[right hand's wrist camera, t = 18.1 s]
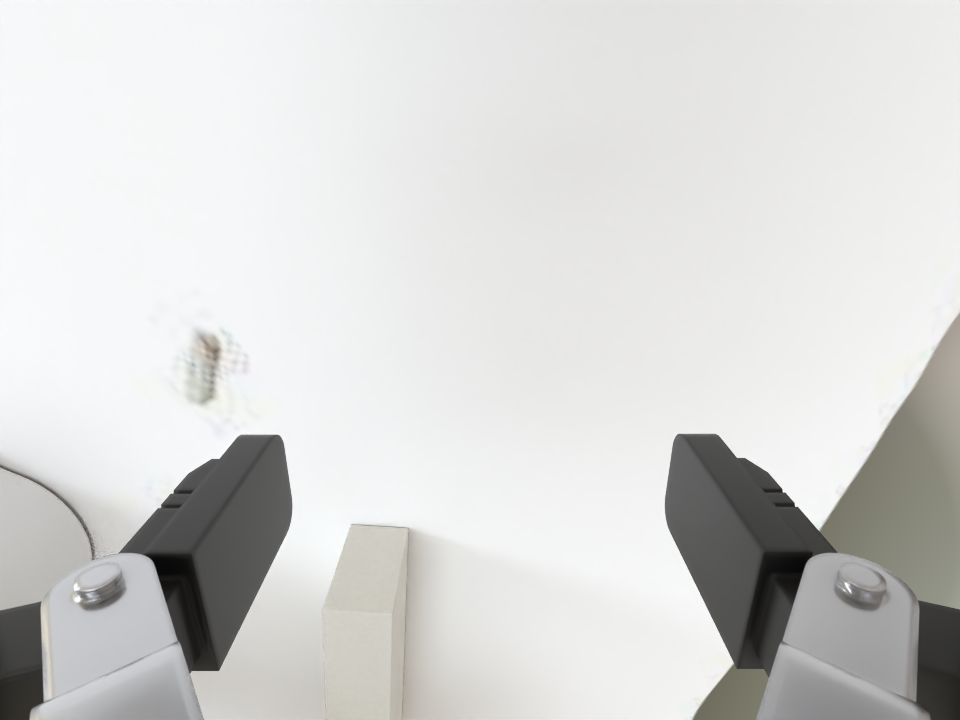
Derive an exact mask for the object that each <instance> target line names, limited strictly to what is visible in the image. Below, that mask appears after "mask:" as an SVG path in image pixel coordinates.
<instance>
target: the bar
mask: <svg viewBox="0 0 960 720" xmlns="http://www.w3.org/2000/svg"><path fill="white" fill-rule="evenodd" d="M408 534H409V529H408V528H397V527H381V526H365V525H351V526H350V529H349V532H348V535H347V538H346V541H345V544H344V547H343V550H342V553H341V556H340V559H339V562H338V565H337V568H336V570H335V573H334V576H333V579H332V582H331V585H330V588H329V591H328V594H327V597H326V600H325V603H324V606H323V609H322V620H323V647H324V674H325V701H326V720H402V708H403V679H404V650H405V621H406V592H407V563H408Z"/></svg>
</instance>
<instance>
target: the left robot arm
mask: <svg viewBox="0 0 960 720" xmlns="http://www.w3.org/2000/svg"><path fill="white" fill-rule="evenodd" d="M90 561H92V551H91V546H90V542H89V539H88V536H87V534H86V532H85V530H84V528H83V526H82V524H81V523H80V521H79V520H78V518H77V517H76V516H75V514H74V513H73V512H72V511H71V510H70V509H69V508H68V507H67V506H66V505H65V504H64V503H63V502H62V501H61V500H60V499H59V498H58V497H56V496H55V495H54V494H53V493H51V492H50V491H48V490H47V489H45V488H44V487H42V486H40V485H39V484H37V483H35V482H33V481H31V480H29V479H27V478H25V477H23V476H20V475H17V474H15V473H12V472H10V471H7V470H5V469H3V468H1V467H0V610H5V609H9V608H14V607H18V606H23V605H27V604H32V603H36V602H40V601H42V600H43V598H44V596H45V594H46V593H47V591H48V590H49V589H50V588H51V587H52V586H53V585H54V584H55V583H56V582H57V581H58V580H59V579H60V578H62V577H63V576H64V575H66V574H67V573H69V572H70V571H72V570H74V569H75V568H77V567H79V566H81V565H83V564H85V563H87V562H90Z"/></svg>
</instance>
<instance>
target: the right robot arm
mask: <svg viewBox="0 0 960 720" xmlns="http://www.w3.org/2000/svg"><path fill="white" fill-rule="evenodd" d="M665 514H666V520H667V525H668V528H669V530H670V533H671V535H672V537H673V539H674V541H675V543H676V545H677V547H678V549H679V551H680V553H681V555H682V557H683V559H684V561H685V563H686V565H687V567H688V569H689V572H690V574H691V576H692V578H693V580H694V582H695V584H696V586H697V588H698V590H699V592H700V594H701V596H702V598H703V600H704V602H705V604H706V606H707V608H708V610H709V613H710V615H711V617H712V619H713V621H714V623H715V625H716V627H717V629H718V631H719V633H720V635H721V637H722V639H723V641H724V643H725V645H726V647H727V649H728V651H729V654H730V656H731V658H732V660H733V662H734V664H735V666H736V668H737V669H764V670H765V671H766V673H767V675H768V677H769V680H768V683H767V686H766V690H765V693H764V696H763V699H762V703H761V706H760V709H759V712H758V715H757V719H756V720H960V610H959V609H955V608H950V607H945V606H941V605H936V604H932V603H927V602H923V601H918V600H917V598H916V596H915V594H914V593H913V591H912V590H911V589H910V588H909V587H908V586H907V585H906V584H905V583H904V582H903V581H902V580H901V579H900V578H898V577H897V576H895V575H894V574H893V573H891V572H890V571H888V570H886V569H885V568H883V567H881V566H879V565H877V564H875V563H873V562H870V561H868V560H865V559H862V558H859V557H856V556H852V555H847V554H840V553H837V552H836V550H835V549H834V548H833V547H832V546H831V545H830V543H829V542H828V541H827V540H826V539H825V538H824V537H823V535H822V534H821V533H820V532H819V531H818V530H817V528H816V527H815V526H814V525H813V524H812V523H811V522H810V520H809V519H808V518H807V517H806V516H805V515H804V514H803V512H802V511H801V510H800V509H799V508H798V507H795V503H794V502H793V501H792V500H791V499H790V497H789V496H788V495H787V494H786V493H783V492H782V488H781V487H780V486H779V485H778V484H777V483H776V481H775V480H774V479H773V478H772V477H771V476H770V474H769V473H768V472H766V471H765V470H763V469H761V468H760V467H758V466H757V465H755V464H753V463H752V462H750V461H749V460H747V459H745V458H736V456H735V455H734V454H733V453H732V451H731V450H730V449H729V448H728V446H727V445H726V444H725V443H724V442H723V440H722V439H721V438H720V437H719V436H718V435H717V434H678V435H677V436H676V437H675V439H674V443H673V448H672V455H671V462H670V469H669V476H668V483H667V490H666V496H665ZM291 517H292V496H291V489H290V483H289V476H288V469H287V462H286V455H285V448H284V443H283V440H282V438H281V437H280V436H279V435H240V436H238V437H237V438H236V440H235V441H234V442H233V443H232V445H231V446H230V447H229V448H228V449H227V451H226V452H225V453H224V454H223V455H222V457H221V458H220V459H211V460H210V461H208V462H206V463H205V464H203V465H202V466H200V467H198V468H197V469H195V470H194V471H192V472H190V473H189V474H188V475H187V476H186V477H185V478H184V479H183V481H182V482H181V483H180V484H179V485H178V486H177V487H176V489H175V490H174V494H170V495H169V497H168V498H167V499H166V500H165V501H164V502H163V503H162V504H161V508H158V509H157V510H156V511H155V512H154V514H153V515H152V516H151V517H150V518H149V519H148V520H147V522H146V523H145V524H144V525H143V526H142V527H141V528H140V530H139V531H138V532H137V533H136V534H135V535H134V536H133V537H132V539H131V540H130V541H129V542H128V543H127V544H126V545H125V547H124V548H123V549H122V550H121V551H120V552H119V553H118V554H113V555H108V556H104V557H101V558H98V559H95V560H92V561H90V562H87V563H85V564H83V565H81V566H79V567H77V568H75V569H74V570H72V571H70V572H69V573H67V574H66V575H64V576H63V577H62V578H60V579H59V580H58V581H57V582H56V583H55V584H54V585H53V586H52V587H51V588H50V589H49V590H48V591H47V593H46V594H45V596H44V598H43V600H42V601H40V602H36V603H32V604H27V605H23V606H18V607H14V608H9V609H5V610H0V720H204V719H203V715H202V712H201V709H200V706H199V703H198V699H197V696H196V693H195V690H194V686H193V683H192V680H191V677H190V673H191V671H219V670H220V668H221V666H222V664H223V661H224V659H225V657H226V655H227V653H228V651H229V649H230V647H231V645H232V643H233V641H234V639H235V637H236V635H237V633H238V631H239V629H240V627H241V625H242V623H243V621H244V619H245V617H246V615H247V613H248V611H249V609H250V607H251V605H252V603H253V601H254V599H255V597H256V595H257V593H258V591H259V589H260V587H261V585H262V582H263V580H264V578H265V576H266V574H267V572H268V570H269V568H270V566H271V564H272V562H273V560H274V558H275V556H276V554H277V552H278V550H279V548H280V546H281V544H282V542H283V540H284V538H285V536H286V534H287V532H288V529H289V526H290V522H291Z"/></svg>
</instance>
